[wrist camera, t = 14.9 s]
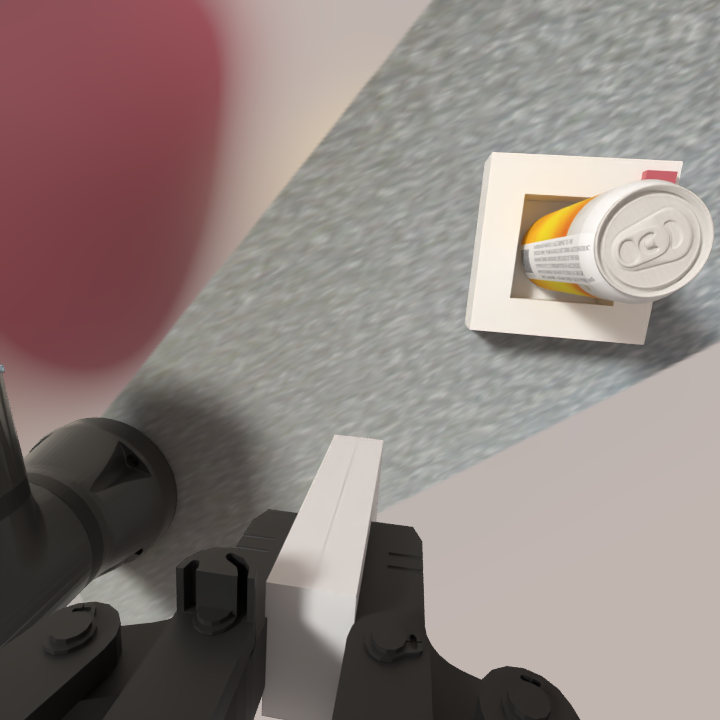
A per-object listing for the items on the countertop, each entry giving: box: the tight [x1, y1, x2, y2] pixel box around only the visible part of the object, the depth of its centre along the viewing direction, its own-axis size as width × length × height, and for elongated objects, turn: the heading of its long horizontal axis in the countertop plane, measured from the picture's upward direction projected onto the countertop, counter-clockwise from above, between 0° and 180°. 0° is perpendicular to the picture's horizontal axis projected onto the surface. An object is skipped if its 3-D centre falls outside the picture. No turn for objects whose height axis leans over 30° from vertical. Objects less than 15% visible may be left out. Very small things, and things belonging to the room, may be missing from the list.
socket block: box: [465, 152, 683, 345], centre depth 34 cm, size 13×13×4 cm
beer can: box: [520, 179, 714, 304], centre depth 29 cm, size 6×6×15 cm
